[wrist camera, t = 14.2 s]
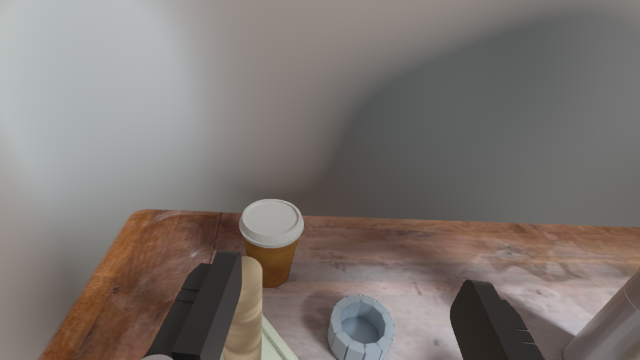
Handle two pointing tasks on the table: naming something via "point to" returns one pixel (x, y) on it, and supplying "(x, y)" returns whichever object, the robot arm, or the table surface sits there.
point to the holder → (360, 329)
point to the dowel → (247, 316)
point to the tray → (272, 344)
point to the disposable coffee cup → (271, 237)
